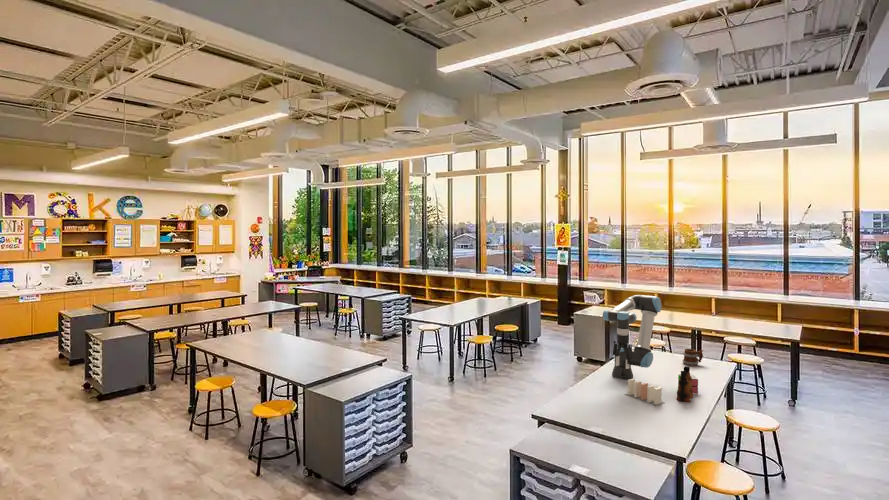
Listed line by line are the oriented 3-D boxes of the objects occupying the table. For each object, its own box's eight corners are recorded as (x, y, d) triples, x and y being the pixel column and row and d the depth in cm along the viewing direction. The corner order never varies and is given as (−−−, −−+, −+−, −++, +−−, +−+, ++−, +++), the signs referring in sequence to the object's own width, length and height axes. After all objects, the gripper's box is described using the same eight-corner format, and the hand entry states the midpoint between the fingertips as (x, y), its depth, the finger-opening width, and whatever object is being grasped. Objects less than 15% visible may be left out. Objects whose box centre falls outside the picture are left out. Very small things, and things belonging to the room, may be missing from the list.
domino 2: (634, 396, 314) (634, 382, 314) (639, 395, 317) (639, 380, 316) (636, 397, 313) (636, 382, 313) (641, 396, 316) (641, 381, 315)
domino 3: (647, 401, 306) (647, 386, 305) (652, 400, 308) (652, 385, 308) (649, 402, 304) (649, 387, 304) (654, 400, 307) (654, 385, 306)
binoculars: (680, 393, 321) (681, 364, 320) (694, 396, 317) (694, 366, 316) (675, 401, 307) (675, 371, 306) (689, 404, 302) (689, 373, 301)
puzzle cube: (698, 393, 321) (698, 379, 320) (682, 392, 323) (682, 378, 322) (693, 388, 331) (693, 374, 330) (677, 387, 333) (678, 374, 332)
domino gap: (640, 399, 310) (640, 384, 310) (645, 397, 313) (645, 382, 312) (642, 399, 309) (642, 384, 308) (647, 398, 311) (647, 383, 311)
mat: (623, 395, 319) (623, 394, 319) (633, 392, 324) (633, 391, 324) (655, 406, 298) (655, 406, 298) (665, 403, 303) (665, 403, 303)
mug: (681, 360, 398) (685, 343, 396) (700, 365, 392) (704, 348, 390) (680, 364, 388) (684, 347, 386) (700, 369, 381) (704, 352, 379)
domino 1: (627, 394, 319) (628, 379, 318) (632, 393, 321) (632, 378, 321) (629, 395, 317) (630, 380, 317) (634, 393, 320) (634, 379, 319)
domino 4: (654, 403, 302) (654, 388, 301) (659, 402, 304) (659, 387, 304) (656, 404, 300) (656, 389, 300) (661, 403, 303) (661, 387, 302)
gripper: (607, 332, 331) (606, 364, 332) (631, 337, 313) (631, 371, 314) (614, 330, 335) (614, 362, 336) (639, 336, 317) (638, 370, 318)
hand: (622, 367), depth 325 cm, fingers open, 8 cm apart
